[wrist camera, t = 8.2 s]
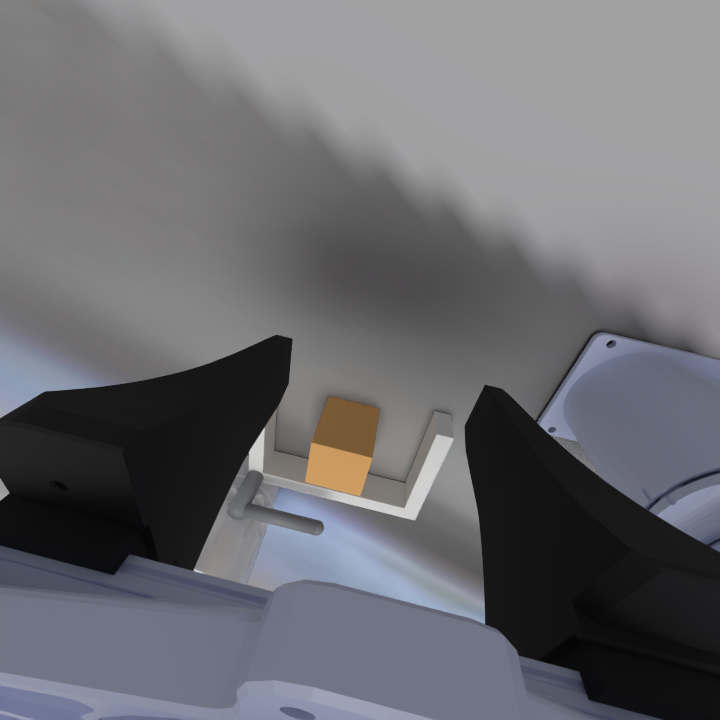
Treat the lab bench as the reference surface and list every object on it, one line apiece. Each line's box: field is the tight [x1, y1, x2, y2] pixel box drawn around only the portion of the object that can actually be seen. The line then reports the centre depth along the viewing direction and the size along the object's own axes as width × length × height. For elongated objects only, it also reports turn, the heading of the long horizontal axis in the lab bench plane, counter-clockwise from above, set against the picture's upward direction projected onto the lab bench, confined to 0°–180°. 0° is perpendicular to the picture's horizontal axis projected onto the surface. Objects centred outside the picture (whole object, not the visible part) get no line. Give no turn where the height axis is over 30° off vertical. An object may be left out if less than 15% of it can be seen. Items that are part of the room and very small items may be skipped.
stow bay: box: [227, 409, 454, 535], centre depth 24 cm, size 14×10×6 cm
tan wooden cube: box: [305, 396, 379, 496], centre depth 23 cm, size 4×4×5 cm
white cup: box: [194, 456, 280, 585], centre depth 27 cm, size 8×8×10 cm
